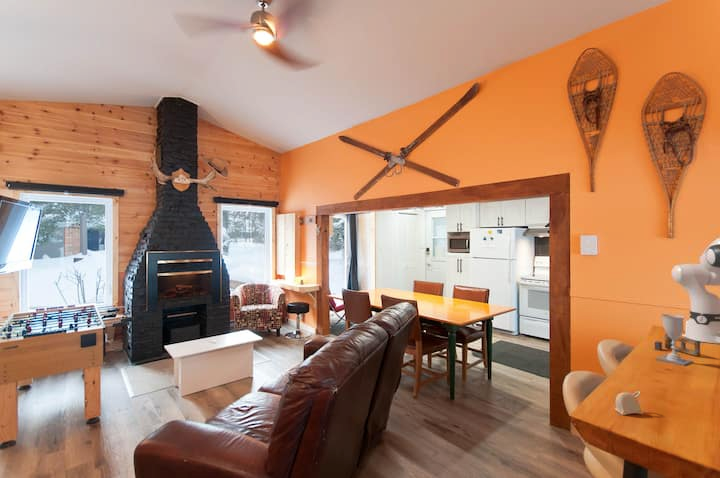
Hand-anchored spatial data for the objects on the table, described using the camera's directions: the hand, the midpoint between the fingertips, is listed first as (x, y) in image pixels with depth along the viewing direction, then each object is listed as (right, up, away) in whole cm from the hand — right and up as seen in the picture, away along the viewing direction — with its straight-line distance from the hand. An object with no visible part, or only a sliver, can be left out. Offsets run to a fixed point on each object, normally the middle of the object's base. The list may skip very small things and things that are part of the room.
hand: (713, 335), depth 133 cm
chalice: (-7, -13, +9) cm, 17 cm away
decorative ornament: (-61, -12, -35) cm, 71 cm away
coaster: (-7, -13, +9) cm, 17 cm away
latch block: (0, -13, +25) cm, 28 cm away
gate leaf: (+7, -13, +21) cm, 25 cm away
